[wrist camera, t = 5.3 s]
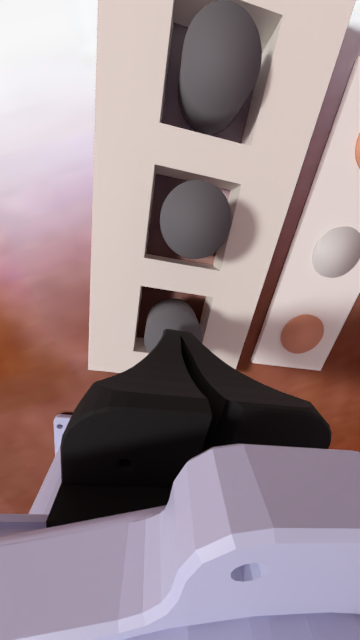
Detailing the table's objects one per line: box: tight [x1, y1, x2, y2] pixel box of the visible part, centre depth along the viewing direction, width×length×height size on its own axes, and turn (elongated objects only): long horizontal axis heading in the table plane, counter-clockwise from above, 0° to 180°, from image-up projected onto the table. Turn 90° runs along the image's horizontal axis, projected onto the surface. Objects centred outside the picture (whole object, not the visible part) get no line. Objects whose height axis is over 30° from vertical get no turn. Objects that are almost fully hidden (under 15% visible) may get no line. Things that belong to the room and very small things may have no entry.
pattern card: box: [251, 56, 360, 371], centre depth 15 cm, size 18×6×1 cm, turn 170°
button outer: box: [178, 0, 262, 134], centre depth 10 cm, size 3×3×2 cm
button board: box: [88, 0, 356, 373], centre depth 13 cm, size 20×10×2 cm, turn 170°
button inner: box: [144, 298, 203, 353], centre depth 13 cm, size 3×3×2 cm
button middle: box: [160, 180, 231, 259], centre depth 11 cm, size 3×3×2 cm
